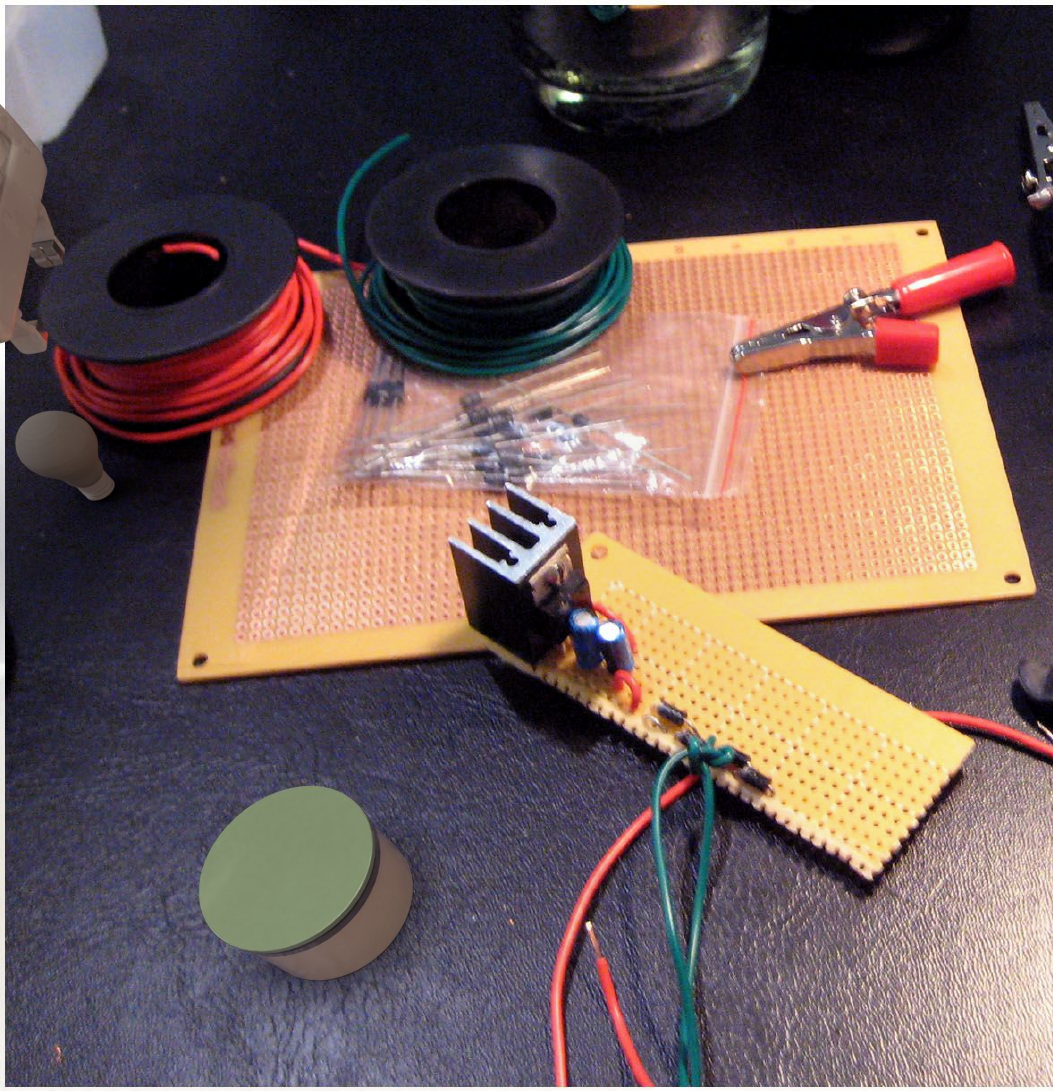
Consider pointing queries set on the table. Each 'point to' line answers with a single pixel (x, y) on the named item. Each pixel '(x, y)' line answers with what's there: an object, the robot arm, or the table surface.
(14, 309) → the robot arm
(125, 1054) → the table surface
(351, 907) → the pot
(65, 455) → the light bulb
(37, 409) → the table surface
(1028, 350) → the table surface
